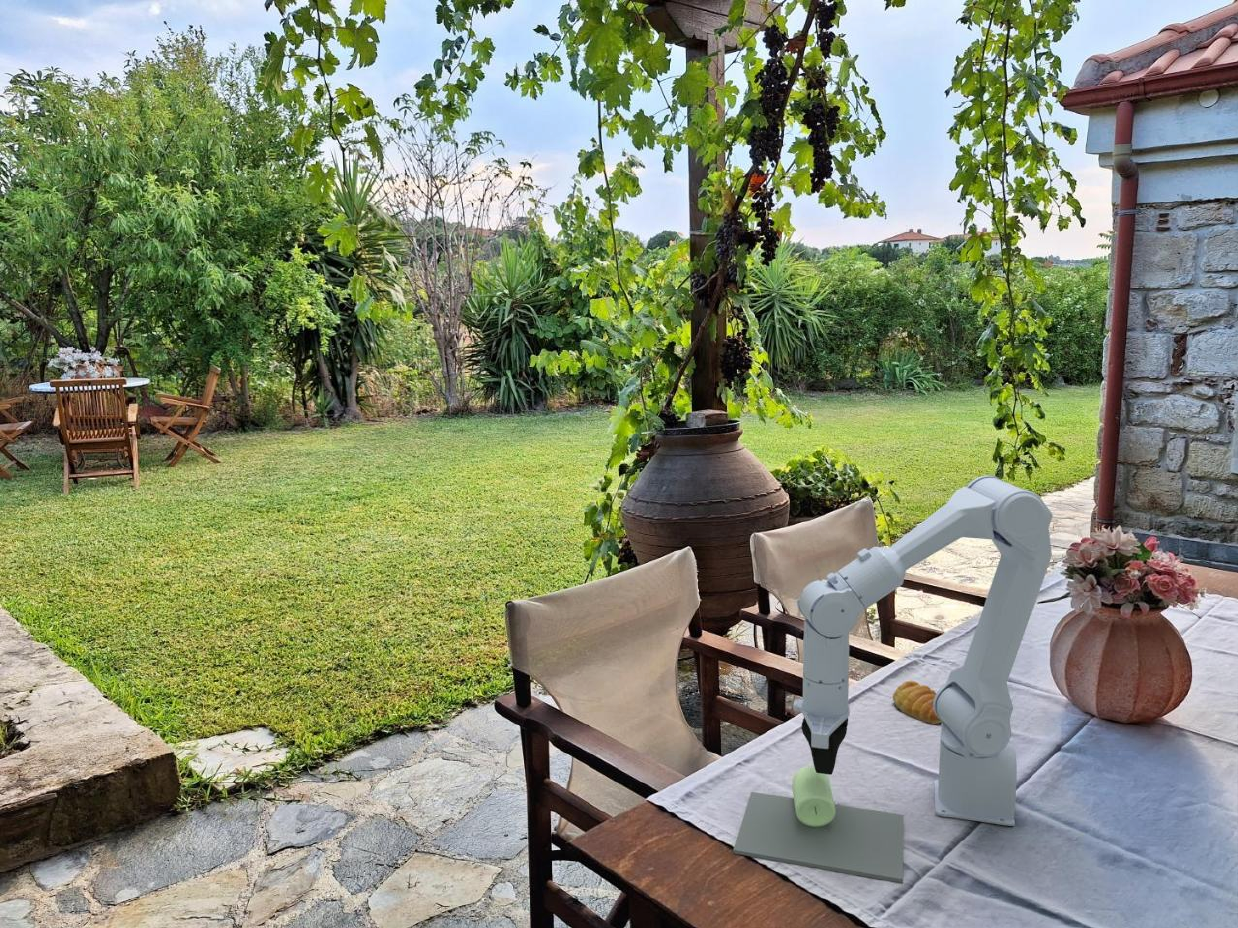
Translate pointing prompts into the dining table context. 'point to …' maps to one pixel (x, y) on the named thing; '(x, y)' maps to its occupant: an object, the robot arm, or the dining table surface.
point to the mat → (823, 838)
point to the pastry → (916, 701)
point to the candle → (813, 797)
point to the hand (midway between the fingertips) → (824, 770)
